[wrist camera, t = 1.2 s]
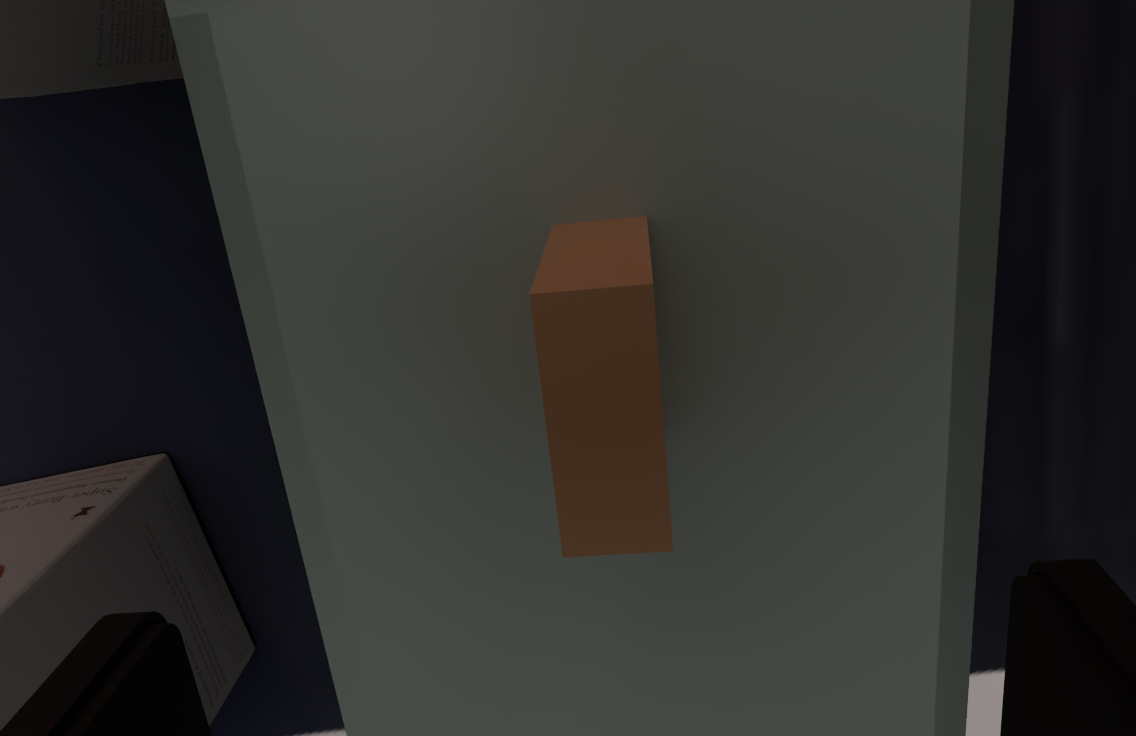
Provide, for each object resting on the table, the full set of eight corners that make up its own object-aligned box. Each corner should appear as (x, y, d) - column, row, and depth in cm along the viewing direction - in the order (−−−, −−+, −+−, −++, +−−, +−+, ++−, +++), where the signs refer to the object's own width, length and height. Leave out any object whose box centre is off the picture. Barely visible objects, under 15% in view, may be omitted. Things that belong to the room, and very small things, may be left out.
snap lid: (207, -24, 20) (-5, -37, 13) (977, -118, 19) (1179, -187, 12) (387, 760, 28) (312, 998, 21) (934, 739, 27) (1038, 989, 20)
